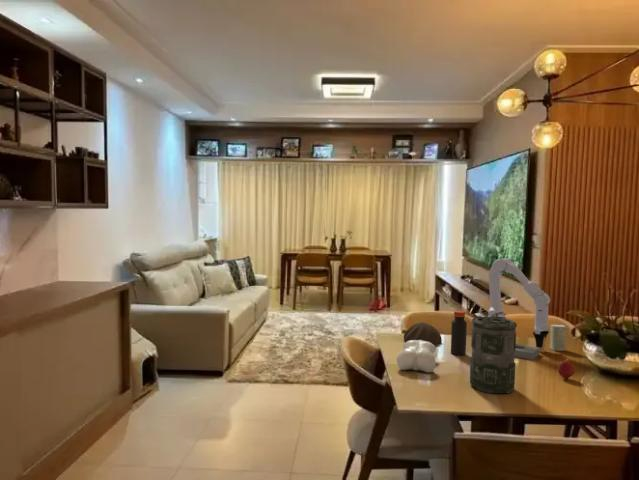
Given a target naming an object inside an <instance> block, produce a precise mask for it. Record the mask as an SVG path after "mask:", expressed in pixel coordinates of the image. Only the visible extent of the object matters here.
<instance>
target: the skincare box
mask: <svg viewBox="0 0 639 480" xmlns="http://www.w3.org/2000/svg"><path fill="white" fill-rule="evenodd" d="M549 325H550V327H549V328H550V330H549V332H550V333H549V349H550V350H552V351H556V352H557V351H559V352H560V351H561V352H563V351H565V352H566V349H567V348H566V346H567V345H566V344H567V326H566V325H564V324H549Z"/></svg>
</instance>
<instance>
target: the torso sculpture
mask: <svg viewBox="0 0 639 480" xmlns="http://www.w3.org/2000/svg"><path fill="white" fill-rule="evenodd" d="M436 350H437V347H436V346H434V345H433V344H432V343H430V342H427V341H422V340H410V341H407V342H404V344H403V349H401V351H399V352H398V354H397V356H396V365H397V366H398V369H400V370H402V371H407V370H408V371H409V370H412V371H421V372H424V373H431V372H433V371H434V370H435V368H436V366H437V365H436V363H437V361H436V357H435V355H434V353H435V352H436Z"/></svg>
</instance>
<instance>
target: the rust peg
mask: <svg viewBox="0 0 639 480" xmlns="http://www.w3.org/2000/svg"><path fill="white" fill-rule="evenodd" d="M535 347H537V345H536V344H535ZM545 347H546V340H545V337H544V340H543V345H542V348H540V347H537V348H539V353H544V352H545V350H546V349H545Z"/></svg>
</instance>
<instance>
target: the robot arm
mask: <svg viewBox="0 0 639 480" xmlns="http://www.w3.org/2000/svg"><path fill="white" fill-rule="evenodd" d="M504 273H507V274H512V275H513V277H515V278H516V279H517V280H518V281H519V282H520V283H521V284H522V285H523V289H524V291H525V292H526V293H527V294H528V295H529V297H530V298H532V299H533V303H534V304H535V311H534V312H535V315H534V317H535V318H534V326H533V327H534V331H533V332H532V335H533V336H534V339H535V346H536V345H537V347H540V348H542V345H543V340H544V337H545V341H546V338H547V337H548V334H550V333H549V332H550V327H549V326H548V325H549V304H550V302H551V297H550V296H549V293H545V291H544V290H542V289H541V288H540V287H539V286H538V283H537V282H534V281H531V280H529V279H528V278H527V276H526V275H525V274H524V273H523V272H522V270H520V268H519V267H518V266H517V265H516V263H515V262H513V260H512V259H510V258H508V257H504V258H498V259H495V260H494V261H493V262H492V264H491V268H490V269H489V271H488V285H489V290H488V291H489V302H490V303H489V304H490V306H489V309H488V315H487V317H491V315H492V314H494V313H496V312H497V313H498V317H504V318H506V314H505V313H504V308H503V307H502V294H501V282H500V280H501V279H500V276H502V275H503V274H504ZM494 316H496V315H494ZM506 319H507V318H506Z"/></svg>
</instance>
